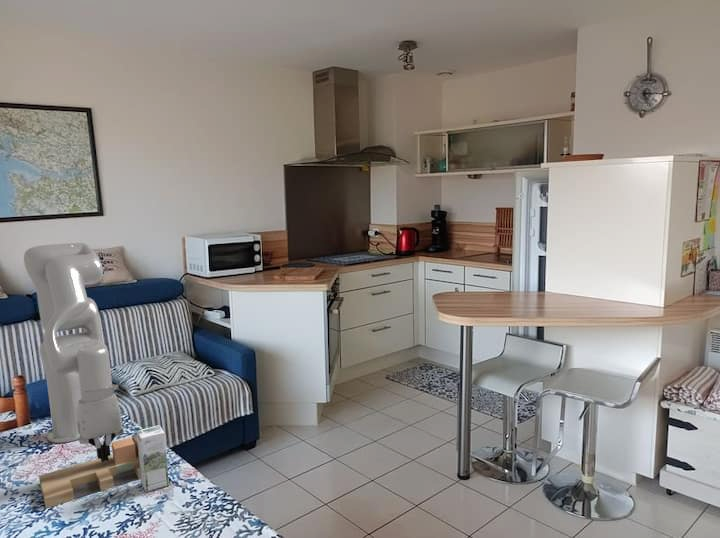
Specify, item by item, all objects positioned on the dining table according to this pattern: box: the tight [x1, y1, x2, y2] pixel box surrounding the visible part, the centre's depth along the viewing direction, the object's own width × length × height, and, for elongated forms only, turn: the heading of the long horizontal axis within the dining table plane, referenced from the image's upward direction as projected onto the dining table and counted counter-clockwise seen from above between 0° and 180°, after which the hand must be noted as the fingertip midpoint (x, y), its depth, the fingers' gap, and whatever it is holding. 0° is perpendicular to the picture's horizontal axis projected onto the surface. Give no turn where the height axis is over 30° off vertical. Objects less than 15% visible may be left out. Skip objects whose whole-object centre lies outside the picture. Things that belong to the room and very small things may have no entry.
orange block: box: [111, 437, 136, 465], centre depth 145 cm, size 5×5×4 cm
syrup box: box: [136, 425, 170, 493], centre depth 135 cm, size 6×6×14 cm
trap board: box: [38, 434, 141, 509], centre depth 140 cm, size 14×24×6 cm, turn 126°
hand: (104, 459), depth 143 cm, fingers closed
